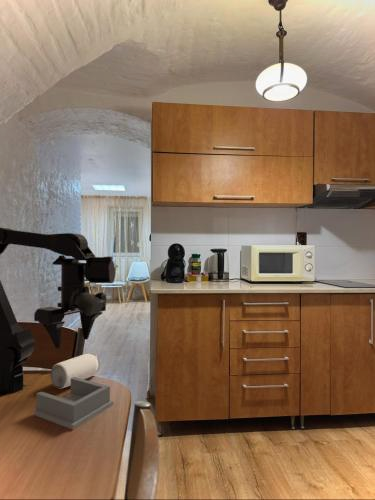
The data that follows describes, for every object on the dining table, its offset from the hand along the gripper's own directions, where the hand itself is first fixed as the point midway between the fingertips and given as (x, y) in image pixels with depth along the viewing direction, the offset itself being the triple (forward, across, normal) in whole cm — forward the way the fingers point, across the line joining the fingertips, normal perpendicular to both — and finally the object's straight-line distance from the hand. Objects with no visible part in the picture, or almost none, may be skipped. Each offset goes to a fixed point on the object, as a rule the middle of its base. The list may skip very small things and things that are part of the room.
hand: (72, 343), depth 85 cm
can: (+9, -2, +4) cm, 10 cm away
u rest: (+12, -7, -8) cm, 16 cm away
